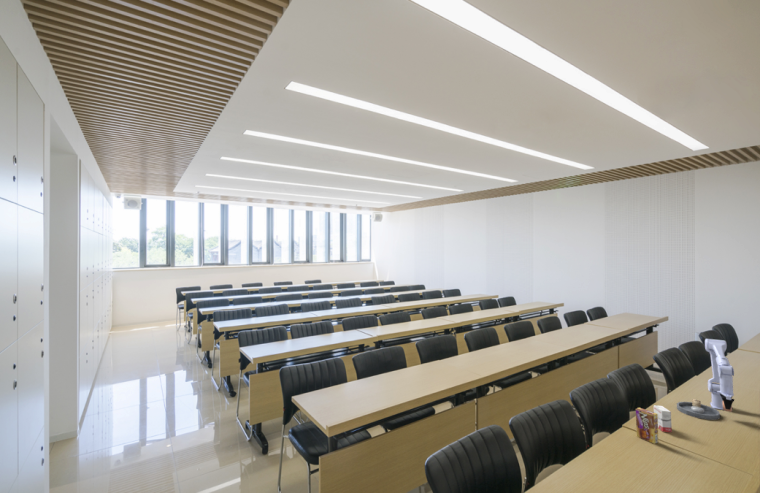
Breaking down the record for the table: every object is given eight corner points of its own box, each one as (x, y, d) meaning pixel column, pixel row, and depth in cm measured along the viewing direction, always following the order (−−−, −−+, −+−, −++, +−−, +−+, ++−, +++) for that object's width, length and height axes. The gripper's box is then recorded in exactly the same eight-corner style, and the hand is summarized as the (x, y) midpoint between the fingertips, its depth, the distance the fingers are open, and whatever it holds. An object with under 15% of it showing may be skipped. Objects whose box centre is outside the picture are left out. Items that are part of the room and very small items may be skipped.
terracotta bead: (722, 408, 212) (721, 399, 212) (731, 409, 210) (731, 401, 210) (723, 410, 209) (722, 402, 209) (732, 412, 207) (732, 403, 207)
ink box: (672, 432, 194) (671, 411, 194) (662, 432, 195) (661, 411, 195) (663, 425, 202) (662, 405, 202) (653, 424, 203) (653, 404, 203)
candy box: (659, 442, 184) (658, 413, 184) (654, 444, 182) (653, 415, 183) (640, 434, 192) (639, 407, 192) (636, 436, 190) (635, 408, 191)
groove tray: (676, 403, 232) (676, 399, 233) (717, 411, 220) (716, 407, 220) (677, 413, 217) (677, 409, 217) (722, 422, 204) (721, 418, 204)
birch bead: (692, 406, 226) (691, 398, 226) (700, 407, 223) (700, 400, 224) (692, 408, 223) (692, 400, 223) (701, 410, 220) (700, 402, 220)
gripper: (715, 380, 218) (716, 402, 218) (719, 387, 207) (720, 410, 206) (731, 383, 214) (732, 404, 213) (735, 390, 202) (736, 413, 202)
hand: (727, 407), depth 209 cm, fingers closed on terracotta bead, 4 cm apart
